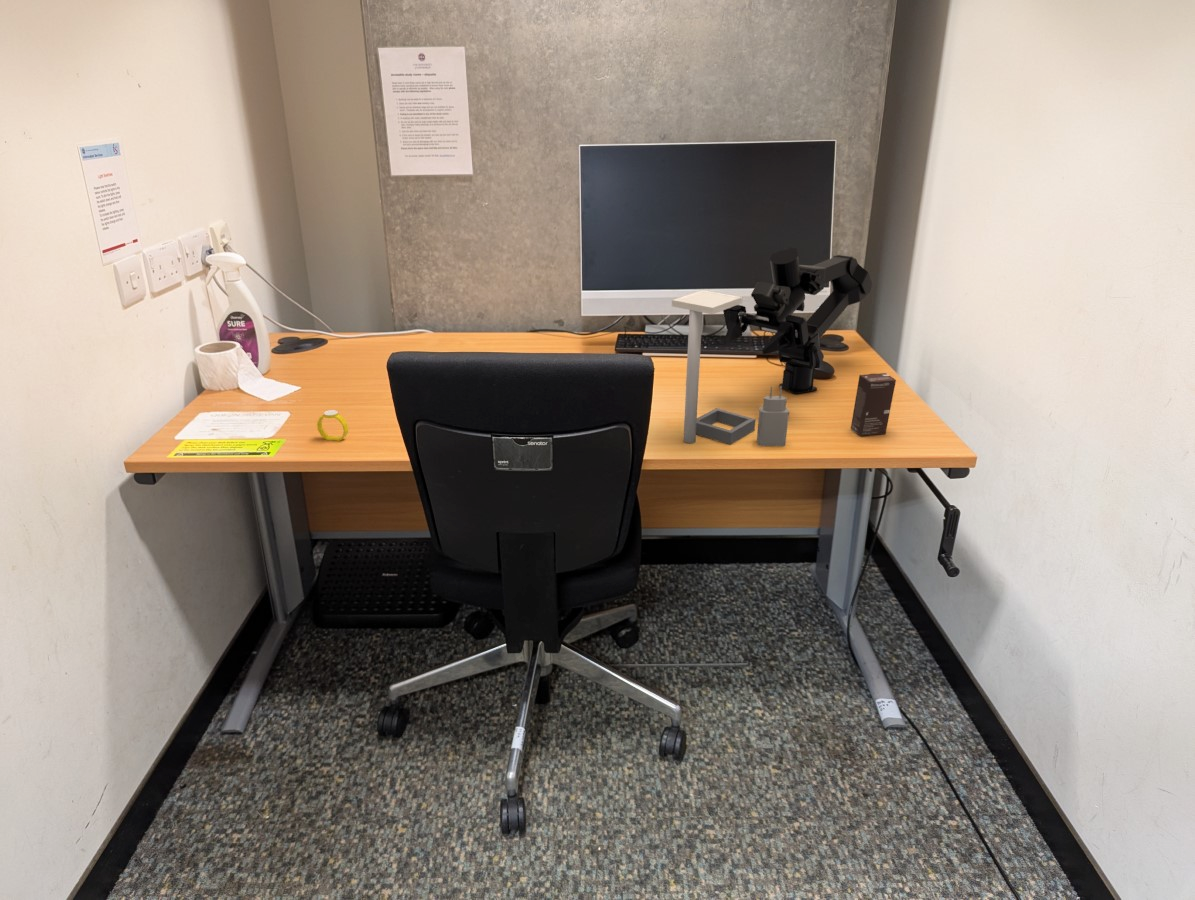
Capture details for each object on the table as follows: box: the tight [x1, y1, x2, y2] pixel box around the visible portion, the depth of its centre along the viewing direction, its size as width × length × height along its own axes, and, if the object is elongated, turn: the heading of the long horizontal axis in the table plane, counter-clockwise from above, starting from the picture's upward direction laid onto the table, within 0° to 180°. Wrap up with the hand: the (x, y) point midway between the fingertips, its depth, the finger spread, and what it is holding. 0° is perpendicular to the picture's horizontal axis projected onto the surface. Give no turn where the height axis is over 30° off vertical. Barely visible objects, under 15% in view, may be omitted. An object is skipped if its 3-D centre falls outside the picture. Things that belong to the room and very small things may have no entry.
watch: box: [316, 409, 349, 442], centre depth 161 cm, size 6×3×6 cm, turn 80°
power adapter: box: [756, 385, 790, 447], centre depth 158 cm, size 3×5×12 cm, turn 90°
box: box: [850, 372, 897, 437], centre depth 163 cm, size 6×4×12 cm
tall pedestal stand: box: [671, 289, 757, 446], centre depth 159 cm, size 15×12×28 cm
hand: (743, 347), depth 165 cm, fingers open, 9 cm apart
